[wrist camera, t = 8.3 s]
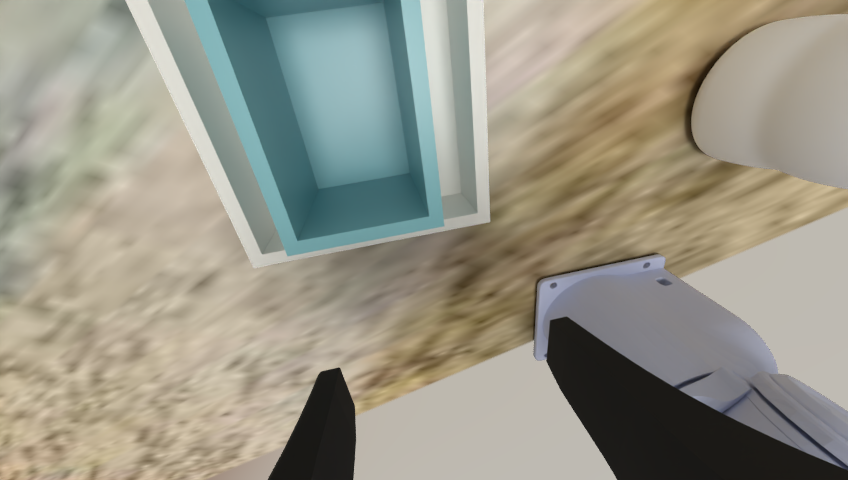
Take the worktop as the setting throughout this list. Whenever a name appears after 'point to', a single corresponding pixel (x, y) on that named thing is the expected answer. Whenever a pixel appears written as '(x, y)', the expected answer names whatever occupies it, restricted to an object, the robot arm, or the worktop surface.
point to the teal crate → (329, 113)
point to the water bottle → (781, 100)
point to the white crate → (226, 158)
